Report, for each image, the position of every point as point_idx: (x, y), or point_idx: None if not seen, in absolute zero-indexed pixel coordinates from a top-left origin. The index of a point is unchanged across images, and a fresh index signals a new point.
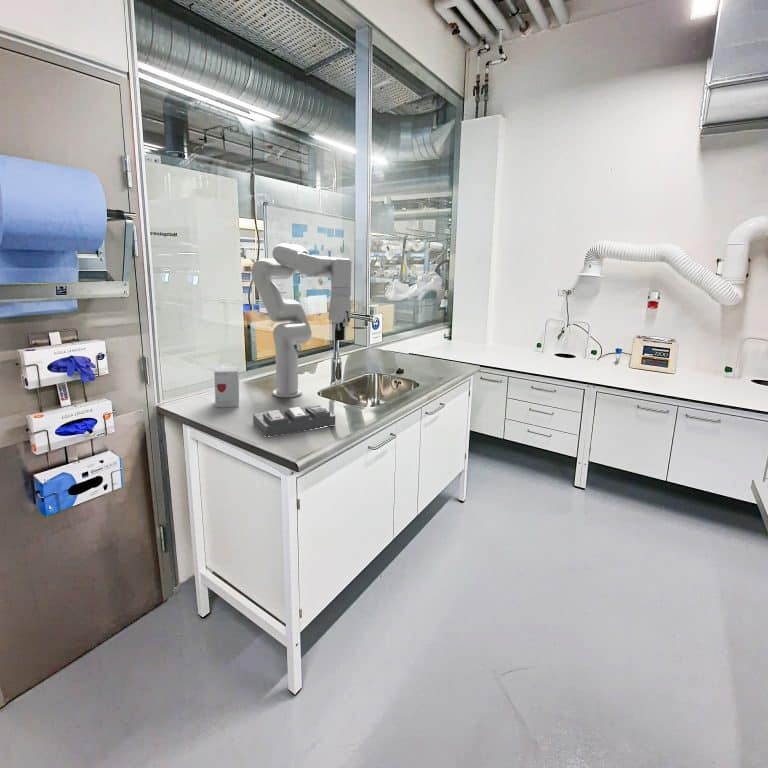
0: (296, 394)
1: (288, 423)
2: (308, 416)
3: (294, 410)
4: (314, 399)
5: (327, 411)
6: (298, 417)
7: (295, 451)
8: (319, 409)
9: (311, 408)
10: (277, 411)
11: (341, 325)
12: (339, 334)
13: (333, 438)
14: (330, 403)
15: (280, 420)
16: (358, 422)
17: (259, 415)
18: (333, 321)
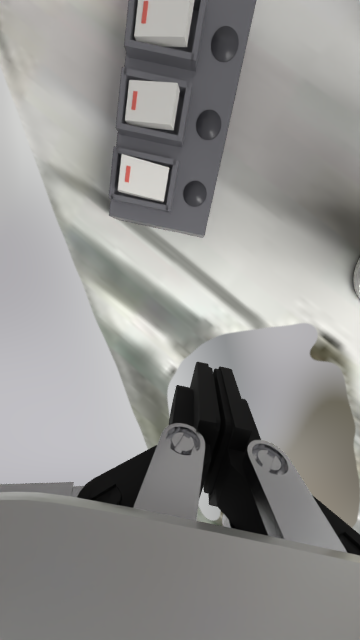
0: (357, 276)
1: (126, 57)
2: (117, 125)
3: (158, 95)
4: (301, 301)
5: (116, 195)
6: (120, 87)
7: (30, 25)
8: (120, 167)
9: (155, 165)
10: (176, 28)
11: (92, 494)
12: (182, 404)
13: (56, 164)
14: (249, 313)
15: (128, 16)
16: (108, 278)
17: (233, 6)
18: (328, 549)
